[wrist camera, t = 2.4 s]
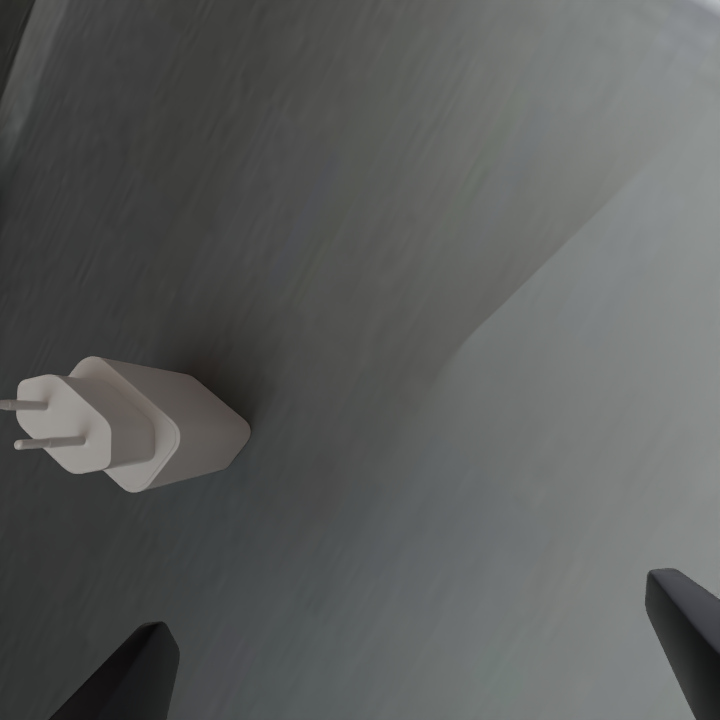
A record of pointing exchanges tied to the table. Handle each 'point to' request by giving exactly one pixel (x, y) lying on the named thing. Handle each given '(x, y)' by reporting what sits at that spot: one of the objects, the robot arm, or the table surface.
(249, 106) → the table surface
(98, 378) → the power adapter
